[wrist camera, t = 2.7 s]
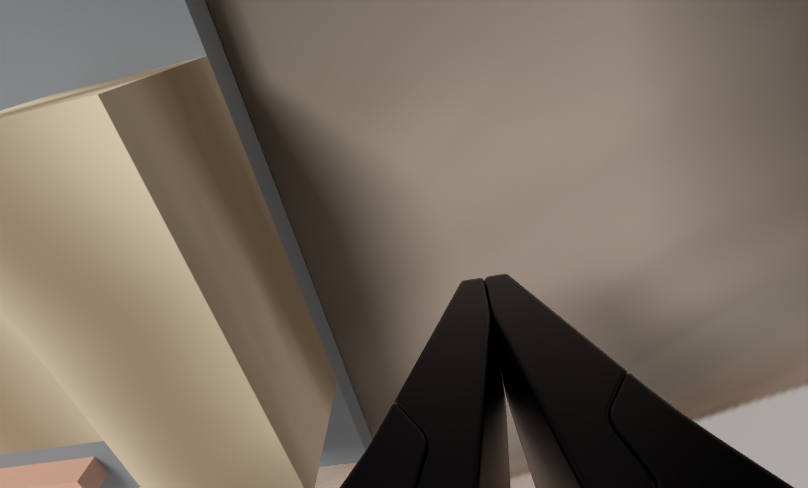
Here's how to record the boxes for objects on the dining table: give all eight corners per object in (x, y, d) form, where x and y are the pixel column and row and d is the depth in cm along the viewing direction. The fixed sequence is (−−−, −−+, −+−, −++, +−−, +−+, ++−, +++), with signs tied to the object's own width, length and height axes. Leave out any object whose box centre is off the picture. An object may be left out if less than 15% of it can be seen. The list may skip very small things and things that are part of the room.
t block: (206, 56, 10) (97, 94, 7) (337, 381, 15) (311, 501, 12) (-94, 131, 12) (-319, 197, 8) (114, 412, 16) (30, 531, 13)
